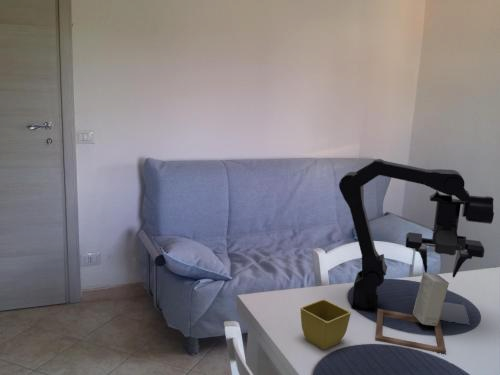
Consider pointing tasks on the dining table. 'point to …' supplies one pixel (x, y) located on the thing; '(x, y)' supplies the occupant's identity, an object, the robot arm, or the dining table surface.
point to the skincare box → (430, 299)
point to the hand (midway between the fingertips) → (439, 274)
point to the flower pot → (324, 323)
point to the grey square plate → (453, 312)
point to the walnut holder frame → (397, 315)
